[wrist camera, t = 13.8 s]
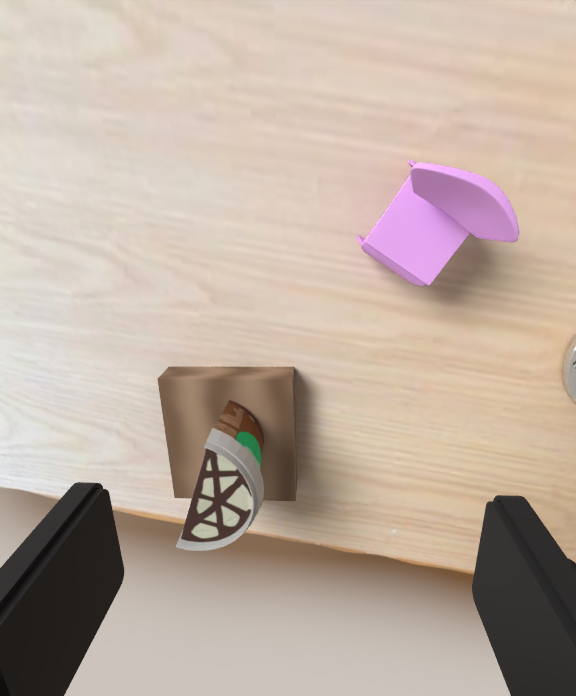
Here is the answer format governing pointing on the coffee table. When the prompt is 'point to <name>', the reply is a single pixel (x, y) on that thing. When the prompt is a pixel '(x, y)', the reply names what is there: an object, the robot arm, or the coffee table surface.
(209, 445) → the food container
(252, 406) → the walnut block
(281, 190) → the coffee table surface
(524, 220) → the coffee table surface
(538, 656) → the robot arm
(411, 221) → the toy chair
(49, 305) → the coffee table surface
